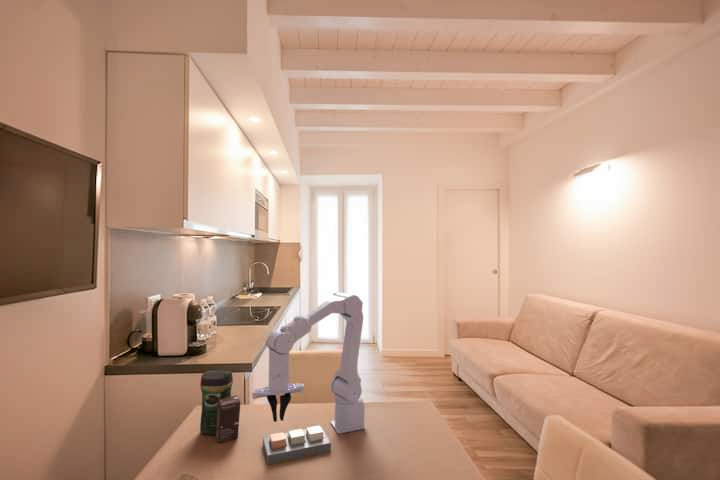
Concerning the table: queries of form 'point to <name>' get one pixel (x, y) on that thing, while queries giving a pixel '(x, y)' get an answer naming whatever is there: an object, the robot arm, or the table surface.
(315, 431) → the cream key
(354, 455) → the table surface
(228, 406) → the box
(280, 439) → the terracotta key
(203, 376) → the coffee jar
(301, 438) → the sage key
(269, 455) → the keypad
